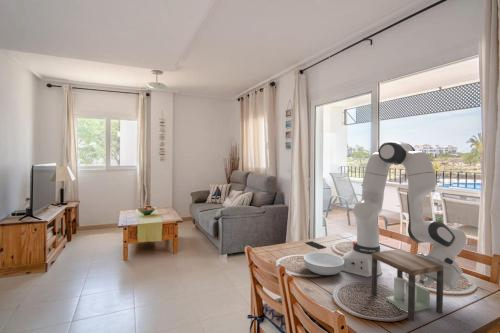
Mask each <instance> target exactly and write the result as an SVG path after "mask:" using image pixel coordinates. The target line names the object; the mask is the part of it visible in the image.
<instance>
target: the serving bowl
mask: <svg viewBox="0 0 500 333" xmlns="http://www.w3.org/2000/svg"><path fill="white" fill-rule="evenodd" d="M342 258H343V257H340V256H338V255H335V254H333V253H326V252H310V253H306V254H305V255H304V256H303V262H304V265H305V267H306V268H307V269H308V270H309V271H311V273H314V274H317V275H320V276H321V275H322V276H331V275H336V274H338V273H340V272H342V271H341V270H342V269H343V266H344V260H343V259H342Z"/></svg>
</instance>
